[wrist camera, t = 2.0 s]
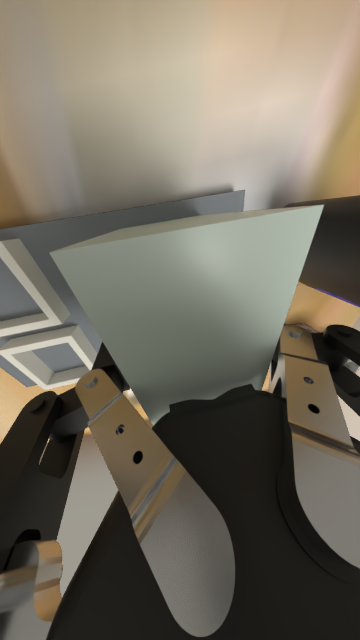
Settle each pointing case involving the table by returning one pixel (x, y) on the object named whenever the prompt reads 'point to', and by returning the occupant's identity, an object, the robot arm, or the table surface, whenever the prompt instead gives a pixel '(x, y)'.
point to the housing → (192, 298)
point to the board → (66, 289)
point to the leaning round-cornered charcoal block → (335, 249)
